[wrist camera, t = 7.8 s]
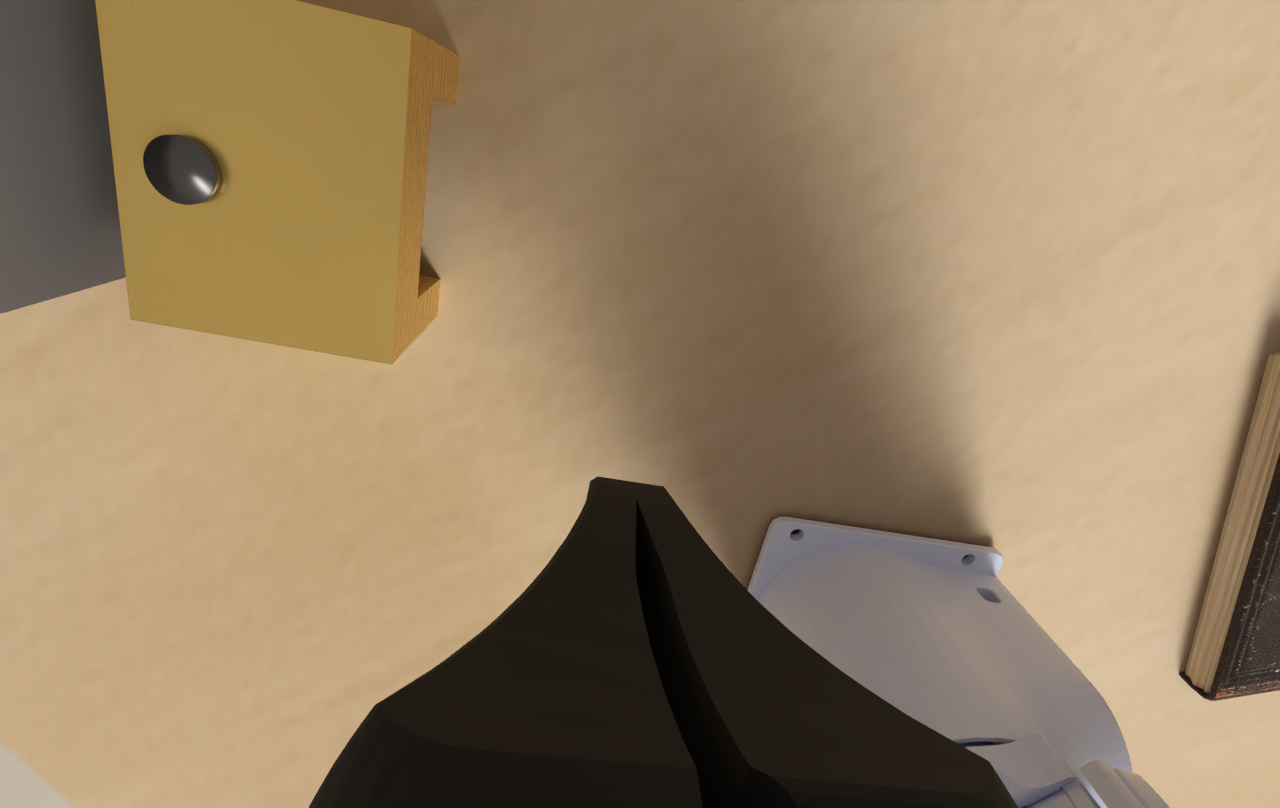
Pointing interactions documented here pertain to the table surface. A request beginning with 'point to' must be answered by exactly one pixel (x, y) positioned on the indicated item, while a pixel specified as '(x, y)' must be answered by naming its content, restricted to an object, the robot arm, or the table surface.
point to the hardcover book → (1245, 569)
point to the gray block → (54, 155)
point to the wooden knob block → (273, 169)
